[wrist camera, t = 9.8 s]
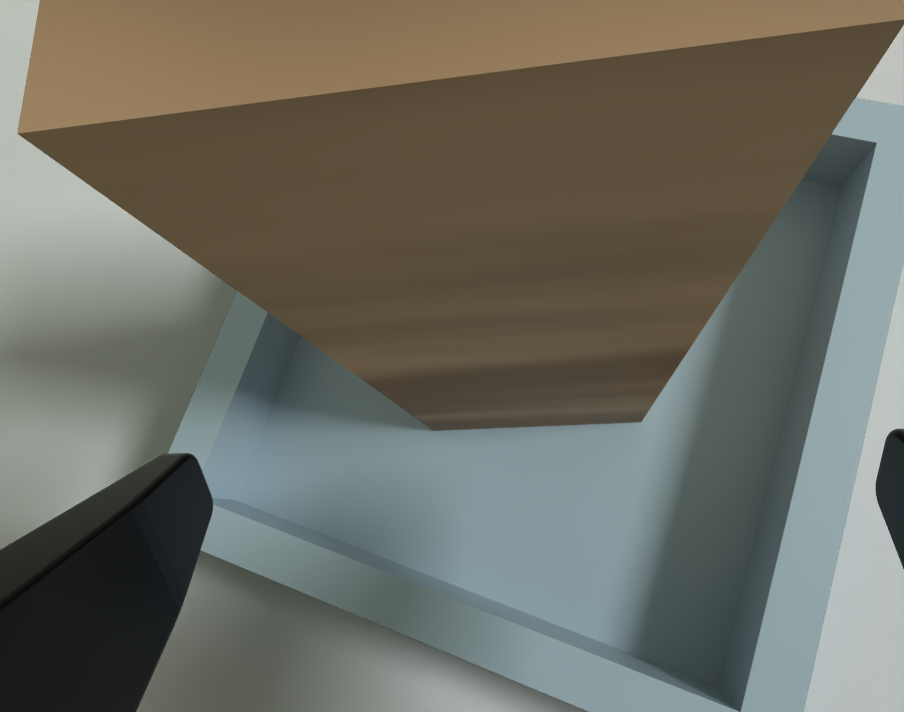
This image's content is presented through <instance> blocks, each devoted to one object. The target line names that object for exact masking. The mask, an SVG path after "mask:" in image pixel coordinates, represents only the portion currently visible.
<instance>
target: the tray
mask: <svg viewBox="0 0 904 712" xmlns="http://www.w3.org/2000/svg"><path fill="white" fill-rule="evenodd" d="M903 262H904V106H901V105H895V104H889V103H883V102H878V101H872V100H866V99H860V98H855V99H854V101H853V102H852V104H851V105H850V107H849V108H848V110H847V111H846V113H845V114H844V116H843V117H842V119H841V120H840V122H839V123H838V125H837V127H836V128H835V130H834V131H833V133H832V134H831V136H830V137H829V139H828V140H827V142H826V143H825V145H824V146H823V148H822V149H821V151H820V152H819V154H818V155H817V157H816V158H815V160H814V161H813V163H812V164H811V166H810V167H809V169H808V170H807V172H806V173H805V175H804V177H803V178H802V180H801V181H800V183H799V184H798V186H797V187H796V189H795V190H794V192H793V193H792V195H791V196H790V198H789V199H788V201H787V202H786V204H785V205H784V207H783V208H782V210H781V211H780V213H779V214H778V216H777V217H776V219H775V220H774V222H773V223H772V225H771V226H770V228H769V230H768V231H767V233H766V234H765V236H764V237H763V239H762V240H761V242H760V243H759V245H758V246H757V248H756V249H755V251H754V252H753V254H752V255H751V257H750V258H749V260H748V261H747V263H746V264H745V266H744V267H743V269H742V270H741V272H740V273H739V275H738V276H737V278H736V279H735V281H734V283H733V284H732V286H731V287H730V289H729V290H728V292H727V293H726V295H725V296H724V298H723V299H722V301H721V302H720V304H719V305H718V307H717V308H716V310H715V311H714V313H713V314H712V316H711V317H710V319H709V320H708V322H707V323H706V325H705V326H704V328H703V329H702V331H701V333H700V334H699V336H698V337H697V339H696V340H695V342H694V343H693V345H692V346H691V348H690V349H689V351H688V352H687V354H686V355H685V357H684V358H683V360H682V361H681V363H680V364H679V366H678V367H677V369H676V370H675V372H674V373H673V375H672V376H671V378H670V379H669V381H668V382H667V384H666V386H665V387H664V389H663V390H662V392H661V393H660V395H659V396H658V398H657V399H656V401H655V402H654V404H653V405H652V407H651V408H650V410H649V411H648V413H647V414H646V416H645V417H644V419H643V420H642V422H636V423H612V424H588V425H564V426H540V427H516V428H493V429H469V430H445V431H433V430H432V429H430V428H429V427H427V426H426V425H425V424H423V423H422V422H420V421H419V420H418V419H416V418H415V417H413V416H412V415H411V414H409V413H408V412H406V411H405V410H404V409H402V408H401V407H399V406H398V405H397V404H395V403H394V402H392V401H391V400H390V399H388V398H387V397H385V396H384V395H383V394H381V393H380V392H378V391H377V390H376V389H374V388H373V387H371V386H370V385H369V384H367V383H366V382H364V381H363V380H362V379H360V378H359V377H357V376H356V375H355V374H353V373H352V372H350V371H349V370H348V369H346V368H345V367H343V366H342V365H341V364H339V363H338V362H336V361H335V360H334V359H332V358H331V357H329V356H328V355H327V354H325V353H324V352H322V351H321V350H320V349H318V348H317V347H315V346H314V345H313V344H311V343H310V342H308V341H307V340H306V339H304V338H303V337H301V336H300V335H299V334H297V333H296V332H294V331H293V330H292V329H290V328H289V327H287V326H286V325H285V324H283V323H282V322H280V321H279V320H278V319H276V318H275V317H273V316H272V315H271V314H269V313H268V312H266V311H265V310H264V309H262V308H261V307H259V306H258V305H257V304H255V303H254V302H252V301H251V300H250V299H248V298H247V297H245V296H244V295H243V294H241V293H240V292H238V291H236V294H235V296H234V298H233V301H232V303H231V306H230V308H229V310H228V313H227V315H226V317H225V320H224V322H223V324H222V327H221V329H220V332H219V334H218V336H217V339H216V341H215V343H214V346H213V348H212V350H211V353H210V355H209V358H208V360H207V362H206V365H205V367H204V369H203V372H202V374H201V376H200V379H199V381H198V384H197V386H196V388H195V391H194V393H193V395H192V398H191V400H190V402H189V405H188V407H187V410H186V412H185V414H184V417H183V419H182V421H181V424H180V426H179V428H178V431H177V433H176V435H175V438H174V440H173V443H172V445H171V447H170V450H169V452H168V454H169V453H190V454H192V455H194V456H195V457H196V458H197V460H198V462H199V464H200V467H201V469H202V472H203V475H204V477H205V480H206V482H207V485H208V487H209V490H210V492H211V495H212V498H213V512H212V516H211V520H210V523H209V526H208V529H207V532H206V535H205V538H204V541H203V544H202V547H201V551H203V552H206V553H208V554H211V555H213V556H215V557H218V558H220V559H223V560H225V561H227V562H230V563H232V564H235V565H237V566H239V567H242V568H244V569H247V570H249V571H251V572H254V573H256V574H259V575H261V576H264V577H266V578H268V579H271V580H273V581H276V582H278V583H280V584H283V585H285V586H288V587H290V588H292V589H295V590H297V591H300V592H302V593H304V594H307V595H309V596H312V597H314V598H316V599H319V600H321V601H324V602H326V603H328V604H331V605H333V606H336V607H338V608H340V609H343V610H345V611H348V612H350V613H353V614H355V615H357V616H360V617H362V618H365V619H367V620H369V621H372V622H374V623H377V624H379V625H381V626H384V627H386V628H389V629H391V630H393V631H396V632H398V633H401V634H403V635H405V636H408V637H410V638H413V639H415V640H417V641H420V642H422V643H425V644H427V645H429V646H432V647H434V648H437V649H439V650H442V651H444V652H446V653H449V654H451V655H454V656H456V657H458V658H461V659H463V660H466V661H468V662H470V663H473V664H475V665H478V666H480V667H482V668H485V669H487V670H490V671H492V672H494V673H497V674H499V675H502V676H504V677H506V678H509V679H511V680H514V681H516V682H518V683H521V684H523V685H526V686H528V687H531V688H533V689H535V690H538V691H540V692H543V693H545V694H547V695H550V696H552V697H555V698H557V699H559V700H562V701H564V702H567V703H569V704H571V705H574V706H576V707H579V708H581V709H583V710H586V711H588V712H804V707H805V703H806V698H807V694H808V689H809V685H810V680H811V676H812V671H813V667H814V662H815V658H816V653H817V649H818V644H819V640H820V635H821V631H822V626H823V622H824V617H825V613H826V608H827V604H828V599H829V595H830V590H831V586H832V581H833V577H834V572H835V568H836V563H837V559H838V554H839V550H840V545H841V541H842V536H843V532H844V527H845V523H846V518H847V514H848V509H849V505H850V500H851V496H852V491H853V487H854V482H855V478H856V473H857V469H858V464H859V460H860V455H861V451H862V446H863V442H864V437H865V433H866V428H867V424H868V419H869V415H870V410H871V406H872V401H873V397H874V392H875V388H876V383H877V379H878V374H879V370H880V365H881V361H882V356H883V352H884V347H885V343H886V338H887V334H888V329H889V325H890V320H891V316H892V311H893V307H894V302H895V298H896V293H897V289H898V284H899V280H900V275H901V271H902V266H903Z"/></svg>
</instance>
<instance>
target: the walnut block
mask: <svg viewBox="0 0 904 712" xmlns="http://www.w3.org/2000/svg"><path fill="white" fill-rule="evenodd" d="M903 25H904V1H903V0H40V4H39V10H38V16H37V22H36V27H35V33H34V39H33V45H32V51H31V57H30V63H29V68H28V74H27V80H26V86H25V92H24V98H23V104H22V109H21V115H20V121H19V127H18V133H17V134H19V135H20V136H21V137H23V138H24V139H26V140H27V141H28V142H30V143H31V144H33V145H34V146H35V147H37V148H38V149H40V150H41V151H42V152H44V153H45V154H47V155H48V156H49V157H51V158H52V159H54V160H55V161H56V162H58V163H59V164H61V165H62V166H63V167H65V168H66V169H68V170H69V171H70V172H72V173H73V174H75V175H76V176H77V177H79V178H80V179H82V180H83V181H84V182H86V183H87V184H89V185H90V186H91V187H93V188H94V189H96V190H97V191H98V192H100V193H101V194H103V195H104V196H105V197H107V198H108V199H110V200H111V201H112V202H114V203H115V204H117V205H118V206H119V207H121V208H122V209H124V210H125V211H126V212H128V213H129V214H131V215H132V216H133V217H135V218H136V219H138V220H139V221H140V222H142V223H143V224H145V225H146V226H147V227H149V228H150V229H152V230H153V231H154V232H156V233H157V234H159V235H160V236H161V237H163V238H164V239H166V240H167V241H168V242H170V243H171V244H173V245H174V246H175V247H177V248H178V249H180V250H181V251H182V252H184V253H185V254H187V255H188V256H189V257H191V258H192V259H194V260H195V261H196V262H198V263H199V264H201V265H202V266H203V267H205V268H206V269H208V270H209V271H210V272H212V273H213V274H215V275H216V276H217V277H219V278H220V279H222V280H223V281H224V282H226V283H227V284H229V285H230V286H231V287H233V288H234V289H236V290H237V291H238V292H240V293H241V294H243V295H244V296H245V297H247V298H248V299H250V300H251V301H252V302H254V303H255V304H257V305H258V306H259V307H261V308H262V309H264V310H265V311H266V312H268V313H269V314H271V315H272V316H273V317H275V318H276V319H278V320H279V321H280V322H282V323H283V324H285V325H286V326H287V327H289V328H290V329H292V330H293V331H294V332H296V333H297V334H299V335H300V336H301V337H303V338H304V339H306V340H307V341H308V342H310V343H311V344H313V345H314V346H315V347H317V348H318V349H320V350H321V351H322V352H324V353H325V354H327V355H328V356H329V357H331V358H332V359H334V360H335V361H336V362H338V363H339V364H341V365H342V366H343V367H345V368H346V369H348V370H349V371H350V372H352V373H353V374H355V375H356V376H357V377H359V378H360V379H362V380H363V381H364V382H366V383H367V384H369V385H370V386H371V387H373V388H374V389H376V390H377V391H378V392H380V393H381V394H383V395H384V396H385V397H387V398H388V399H390V400H391V401H392V402H394V403H395V404H397V405H398V406H399V407H401V408H402V409H404V410H405V411H406V412H408V413H409V414H411V415H412V416H413V417H415V418H416V419H418V420H419V421H420V422H422V423H423V424H425V425H426V426H427V427H429V428H430V429H432V430H433V431H445V430H469V429H493V428H516V427H540V426H564V425H588V424H612V423H636V422H642V420H643V419H644V417H645V416H646V414H647V413H648V411H649V410H650V408H651V407H652V405H653V404H654V402H655V401H656V399H657V398H658V396H659V395H660V393H661V392H662V390H663V389H664V387H665V386H666V384H667V382H668V381H669V379H670V378H671V376H672V375H673V373H674V372H675V370H676V369H677V367H678V366H679V364H680V363H681V361H682V360H683V358H684V357H685V355H686V354H687V352H688V351H689V349H690V348H691V346H692V345H693V343H694V342H695V340H696V339H697V337H698V336H699V334H700V333H701V331H702V329H703V328H704V326H705V325H706V323H707V322H708V320H709V319H710V317H711V316H712V314H713V313H714V311H715V310H716V308H717V307H718V305H719V304H720V302H721V301H722V299H723V298H724V296H725V295H726V293H727V292H728V290H729V289H730V287H731V286H732V284H733V283H734V281H735V279H736V278H737V276H738V275H739V273H740V272H741V270H742V269H743V267H744V266H745V264H746V263H747V261H748V260H749V258H750V257H751V255H752V254H753V252H754V251H755V249H756V248H757V246H758V245H759V243H760V242H761V240H762V239H763V237H764V236H765V234H766V233H767V231H768V230H769V228H770V226H771V225H772V223H773V222H774V220H775V219H776V217H777V216H778V214H779V213H780V211H781V210H782V208H783V207H784V205H785V204H786V202H787V201H788V199H789V198H790V196H791V195H792V193H793V192H794V190H795V189H796V187H797V186H798V184H799V183H800V181H801V180H802V178H803V177H804V175H805V173H806V172H807V170H808V169H809V167H810V166H811V164H812V163H813V161H814V160H815V158H816V157H817V155H818V154H819V152H820V151H821V149H822V148H823V146H824V145H825V143H826V142H827V140H828V139H829V137H830V136H831V134H832V133H833V131H834V130H835V128H836V127H837V125H838V123H839V122H840V120H841V119H842V117H843V116H844V114H845V113H846V111H847V110H848V108H849V107H850V105H851V104H852V102H853V101H854V99H855V98H856V96H857V95H858V93H859V92H860V90H861V89H862V87H863V86H864V84H865V83H866V81H867V80H868V78H869V77H870V75H871V74H872V72H873V70H874V69H875V67H876V66H877V64H878V63H879V61H880V60H881V58H882V57H883V55H884V54H885V52H886V51H887V49H888V48H889V46H890V45H891V43H892V42H893V40H894V39H895V37H896V36H897V34H898V33H899V31H900V30H901V28H902V27H903Z"/></svg>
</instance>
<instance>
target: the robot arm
mask: <svg viewBox="0 0 904 712" xmlns="http://www.w3.org/2000/svg"><path fill="white" fill-rule="evenodd" d="M876 496H877V501H878V504H879V506H880V509H881V512H882V514H883V517H884V519H885V522H886V525H887V527H888V530H889V532H890V535H891V537H892V540H893V543H894V545H895V548H896V550H897V553H898V556H899V558H900V561H901V563H902V566H903V569H904V429H895V430H893V431H892V432H890V433H889V435H888V436H887V438H886V441H885V445H884V450H883V454H882V458H881V462H880V467H879V471H878V475H877V480H876ZM212 512H213V498H212V495H211V492H210V490H209V487H208V485H207V482H206V480H205V477H204V475H203V472H202V469H201V467H200V464H199V462H198V460H197V458H196V457H195V456H194V455H192V454H190V453H169V454H163V455H161V456H159V457H157V458H155V459H154V460H152V461H150V462H149V463H147V464H145V465H144V466H142V467H140V468H138V469H137V470H135V471H133V472H132V473H130V474H128V475H127V476H125V477H123V478H122V479H120V480H118V481H116V482H115V483H113V484H111V485H110V486H108V487H106V488H105V489H103V490H101V491H99V492H98V493H96V494H94V495H93V496H91V497H89V498H88V499H86V500H84V501H82V502H81V503H79V504H77V505H76V506H74V507H72V508H71V509H69V510H67V511H65V512H64V513H62V514H60V515H59V516H57V517H55V518H54V519H52V520H50V521H48V522H47V523H45V524H43V525H42V526H40V527H38V528H37V529H35V530H33V531H32V532H30V533H28V534H26V535H25V536H23V537H21V538H20V539H18V540H16V541H15V542H13V543H11V544H9V545H8V546H6V547H4V548H3V549H1V550H0V712H136V711H137V709H138V706H139V704H140V702H141V700H142V697H143V695H144V693H145V691H146V688H147V686H148V684H149V682H150V679H151V677H152V675H153V673H154V670H155V668H156V666H157V663H158V661H159V659H160V657H161V654H162V652H163V650H164V648H165V645H166V643H167V641H168V639H169V636H170V634H171V632H172V630H173V627H174V625H175V622H176V620H177V618H178V615H179V613H180V610H181V607H182V605H183V602H184V599H185V596H186V593H187V590H188V587H189V584H190V581H191V578H192V575H193V572H194V569H195V566H196V563H197V560H198V556H199V553H200V550H201V547H202V544H203V541H204V538H205V535H206V532H207V529H208V526H209V523H210V520H211V516H212Z"/></svg>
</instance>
